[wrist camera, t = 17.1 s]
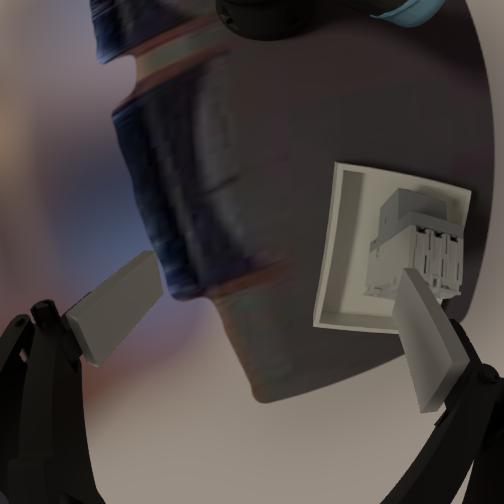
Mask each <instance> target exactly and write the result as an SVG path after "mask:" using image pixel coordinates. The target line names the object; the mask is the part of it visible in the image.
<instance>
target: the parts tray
mask: <svg viewBox="0 0 504 504" xmlns="http://www.w3.org/2000/svg"><path fill="white" fill-rule="evenodd" d="M398 188H402V189H408V190H411V191H413V192H417V193H421V194H424V195H427V196H430V197H433V198H436V199H440V200H443V201H446V205H447V221H450V222H454V223H457V224H460V225H463V232H464V227H465V223H466V218H467V213H468V208H469V203H470V197H471V191H470V190H467V189H464V188H462V187H459V186H455V185H452V184H448V183H444V182H440V181H436V180H432V179H428V178H424V177H419V176H415V175H410V174H406V173H401V172H396V171H391V170H385V169H380V168H374V167H369V166H363V165H356V164H350V163H343V162H335V166H334V176H333V186H332V195H331V204H330V212H329V220H328V228H327V235H326V242H325V249H324V255H323V261H322V268H321V274H320V279H319V285H318V291H317V296H316V301H315V307H314V316H313V327H322V328H332V329H342V330H352V331H364V332H378V333H393V334H399V333H398V330H397V327H396V324H395V321H394V318H393V315H392V311H393V307H394V304H395V300H390V299H384V298H378V297H372V296H366V295H364V292H366V291H367V287H366V286H365V282H366V275H367V267H368V259H369V250H370V242H372V241H373V240H376V238H377V237H378V231H379V217H380V207H381V206H382V205H383V204H384V203H385V202H386V201H387V200H388V199H389V197H390V196H391V195H392V194H393V193H394V192H395V191H396V190H397V189H398ZM436 299H437V301H438V303H439V304H440V305H441V303H442V300H443V299H438V298H436Z"/></svg>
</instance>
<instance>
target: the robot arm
mask: <svg viewBox="0 0 504 504" xmlns="http://www.w3.org/2000/svg"><path fill="white" fill-rule="evenodd" d="M327 1H330V2H334V3H337V4H341V5H344V6H347V7H350V8H353V9H356V10H359V11H362V12H365V13H367V14H369V15H370V16H371V17H374V18H379V19H384V20H386V21H389V22H391V23H394V24H396V25H399V26H402V27H407V28H408V27H416V26H419V25H421V24H423V23H425V22H426V21H428V20H429V19H430V18H431V17H432V16H433V15H434V14H435V13H436V12H437V11H438V10H439V9H440V7H441V6H442V5H443V3H444V2H445V0H327ZM314 9H315V0H216V11H217V14H218V16H219V18H220V19H221V21H222V22H223V23H224V24H225V26H226V27H227V28H228V29H229V30H231V31H232V32H233V33H235V34H237V35H239V36H242V37H244V38H248V39H253V40H275V39H280V38H284V37H287V36H290V35H292V34H294V33H296V32H298V31H299V30H301V29H302V28H303V27H305V26H306V25H307V23H308V22H309V21H310V20H311V18H312V16H313V14H314ZM162 295H163V290H162V284H161V279H160V274H159V269H158V262H157V257H156V251H143V252H142V253H141V254H139V255H138V256H137V257H135V258H134V259H133V260H131V261H130V262H129V263H127V264H126V265H125V266H124V267H122V268H121V269H120V270H118V271H117V272H116V273H115V274H113V275H112V276H111V277H109V278H108V279H107V280H106V281H104V282H103V283H102V284H101V285H99V286H98V287H97V288H96V289H94V290H93V291H91V292H89V293H88V294H87V295H86V296H84V297H83V299H81V300H80V301H79V302H78V303H76V304H75V305H74V306H72V307H71V308H70V309H69V310H68V311H67V312H65V313H64V314H63V315H62V316H61V317H60V316H59V313H58V311H57V308H56V306H55V303H54V301H53V300H49V299H47V300H42V301H39V302H38V303H36V304H35V305H34V306H32V308H31V309H30V311H31V313H32V316H33V318H34V320H35V322H36V324H33V323H32V321H31V319H30V317H29V316H28V315H27V314H22V315H21V314H20V315H18V316H16V317H15V318H14V319H13V320H12V321H11V322H10V323H9V325H8V326H7V328H6V329H5V331H4V333H3V334H2V336H1V337H0V504H106V503H105V502H104V500H103V498H102V497H101V496H100V494H99V493H98V491H97V489H96V485H95V481H94V476H93V472H92V467H91V462H90V457H89V450H88V444H87V437H86V429H85V420H84V410H83V397H82V396H83V395H82V369H81V368H82V366H81V365H82V364H81V361H80V359H79V357H80V356H81V355H82V354H83V355H84V357H85V359H86V361H87V362H88V363H89V364H91V365H93V366H96V367H98V368H100V366H101V365H102V364H103V363H104V362H105V360H106V359H107V358H108V357H109V356H110V354H111V353H112V352H113V351H114V350H115V348H116V347H117V346H118V345H119V344H120V343H121V341H122V340H123V339H124V338H125V337H126V336H127V334H128V333H129V332H130V331H131V330H132V329H133V328H134V326H135V325H136V324H137V323H138V322H139V321H140V319H141V318H142V317H143V316H144V315H145V314H146V312H148V310H149V309H150V308H151V307H152V306H153V305H154V304H155V302H156V301H157V300H158V299H159V298H160V297H161V296H162ZM392 315H393V318H394V321H395V324H396V327H397V330H398V333H399V336H400V339H401V342H402V345H403V349H404V352H405V355H406V358H407V362H408V365H409V369H410V372H411V376H412V380H413V383H414V387H415V391H416V395H417V399H418V404H419V408H420V413H428V412H435V411H437V410H438V409H439V408H440V406H441V405H442V404H443V402H444V403H445V406H446V410H445V412H444V413H443V414H442V416H441V417H440V418H439V419H438V421H437V422H436V423H435V424H434V425H435V426H436V427H435V429H434V430H433V432H432V434H431V435H430V437H429V439H428V440H427V442H426V444H425V445H424V447H423V448H422V450H421V452H420V453H419V454H418V456H417V457H416V459H415V460H414V462H413V463H412V464H411V466H410V467H409V469H408V470H407V471H406V473H405V474H404V475H403V477H402V478H401V480H399V482H398V483H397V484H396V486H395V487H394V488H393V489H392V490H391V492H390V493H389V494H388V495H387V496H386V497H385V499H384V500H383V501H382V502H381V503H380V504H451V502H452V500H453V499H454V497H455V495H456V494H457V492H458V490H459V488H460V487H461V485H462V483H463V481H464V479H465V477H466V475H467V473H468V471H469V469H470V467H471V465H472V463H473V460H474V463H473V467H472V472H471V475H470V480H469V483H468V486H467V490H466V493H465V496H464V499H463V502H462V504H504V378H501V377H500V376H499V374H498V372H497V371H496V370H495V368H493V367H492V366H490V365H488V364H482V362H481V361H480V359H479V357H478V355H477V353H476V351H475V349H474V347H473V345H472V343H471V342H470V340H469V338H468V336H466V333H465V331H464V329H463V328H462V326H461V325H460V324H459V323H458V322H457V321H456V320H454V319H448V318H447V316H446V314H445V313H444V311H443V309H442V308H441V306H440V304H439V303H438V301H437V299H436V298H435V296H434V294H433V293H432V291H431V290H430V288H429V287H428V285H427V284H426V282H425V280H424V279H423V277H422V276H421V274H420V273H419V272H418V270H417V269H416V268H403V272H402V276H401V280H400V284H399V288H398V292H397V296H396V300H395V304H394V307H393V311H392ZM21 350H22V352H23V354H24V356H25V357H26V361H25V362H23V360H22V359H21V357H20V355H19V354H20V352H21Z"/></svg>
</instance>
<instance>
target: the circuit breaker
mask: <svg viewBox="0 0 504 504" xmlns="http://www.w3.org/2000/svg"><path fill="white" fill-rule="evenodd" d="M403 268H416V269H417V270H418V272H419V273H420V274H421V276H422V277H423V279H424V280H425V282H426V284H427V285H428V287H429V288H430V290H431V291H432V293H433V294H434V296H435V298H438V299H447V298H452V297H453V296H455V295H461V292H459V285H462V272H463V225H460V224H457V223H454V222H450V221H447V205H446V201H443V200H440V199H436V198H433V197H430V196H427V195H424V194H421V193H417V192H413V191H411V190H408V189H402V188H398V189H397V190H396V191H395V192H394V193H393V194H392V195H391V196H390V197H389V199H388V200H387V201H386V202H385V203H384V204H383V205H382V206H381V207H380V217H379V231H378V237H377V238H376V240H373V241H372V242H370V250H369V259H368V267H367V275H366V282H365V286H366V287H367V291H366V292H364V295H366V296H372V297H378V298H384V299H390V300H396V296H397V292H398V288H399V284H400V280H401V276H402V272H403Z"/></svg>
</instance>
